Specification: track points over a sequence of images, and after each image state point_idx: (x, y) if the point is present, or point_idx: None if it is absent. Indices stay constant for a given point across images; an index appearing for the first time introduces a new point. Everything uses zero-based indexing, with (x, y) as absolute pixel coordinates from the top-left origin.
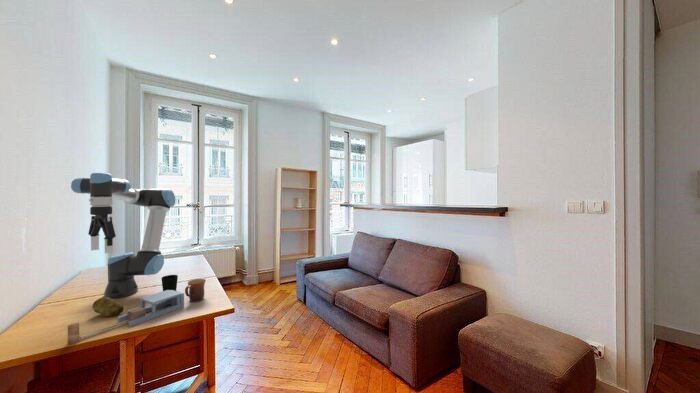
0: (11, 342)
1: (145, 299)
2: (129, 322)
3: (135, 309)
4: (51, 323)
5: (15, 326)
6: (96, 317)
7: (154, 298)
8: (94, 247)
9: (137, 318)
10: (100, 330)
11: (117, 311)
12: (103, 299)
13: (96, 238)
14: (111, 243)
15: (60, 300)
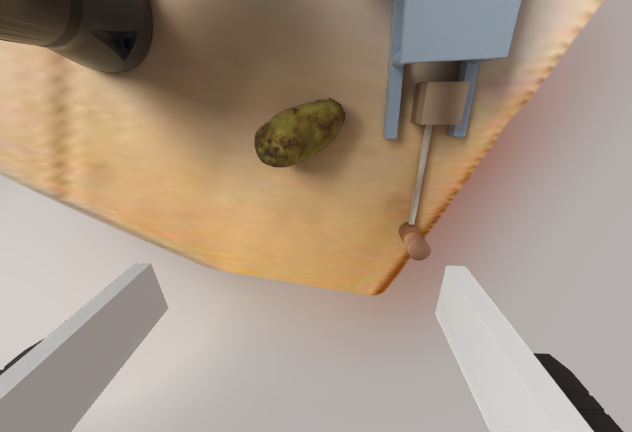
0: (294, 277)
1: (439, 56)
2: (458, 136)
3: (440, 105)
4: (246, 221)
5: (204, 257)
6: None
7: (469, 25)
8: (143, 312)
9: None
10: (419, 190)
11: (343, 122)
12: (287, 147)
13: (26, 415)
14: (581, 397)
15: (53, 160)
